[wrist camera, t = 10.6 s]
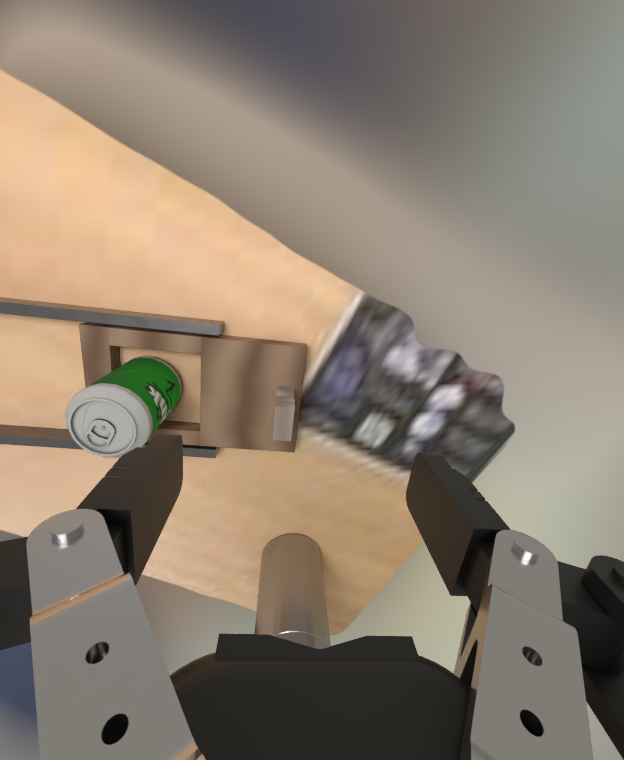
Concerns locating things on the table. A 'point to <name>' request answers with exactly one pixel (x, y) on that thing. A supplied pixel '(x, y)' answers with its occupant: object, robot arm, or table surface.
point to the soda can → (123, 407)
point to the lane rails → (104, 316)
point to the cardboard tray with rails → (217, 383)
